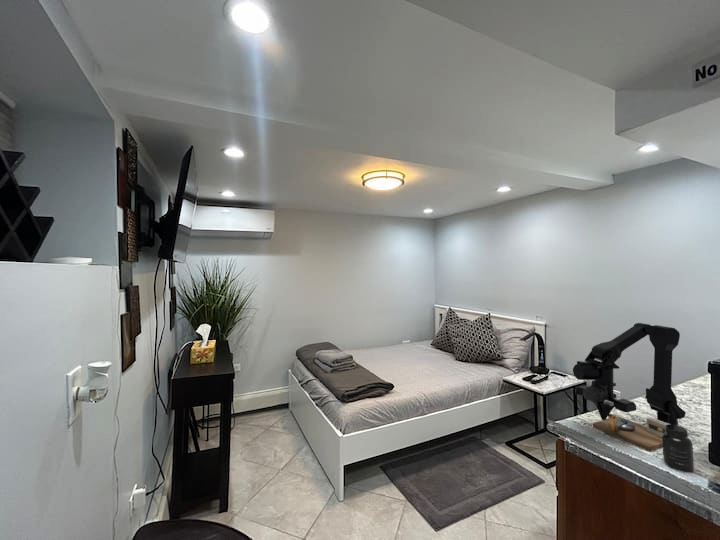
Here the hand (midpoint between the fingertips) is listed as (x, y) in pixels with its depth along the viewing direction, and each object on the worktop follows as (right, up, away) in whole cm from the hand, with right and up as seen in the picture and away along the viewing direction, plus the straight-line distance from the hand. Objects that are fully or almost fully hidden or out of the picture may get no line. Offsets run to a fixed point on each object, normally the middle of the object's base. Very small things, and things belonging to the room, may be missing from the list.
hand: (603, 420), depth 120 cm
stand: (+10, -5, -1) cm, 11 cm away
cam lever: (+6, -3, 0) cm, 6 cm away
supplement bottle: (+8, -5, -21) cm, 23 cm away
